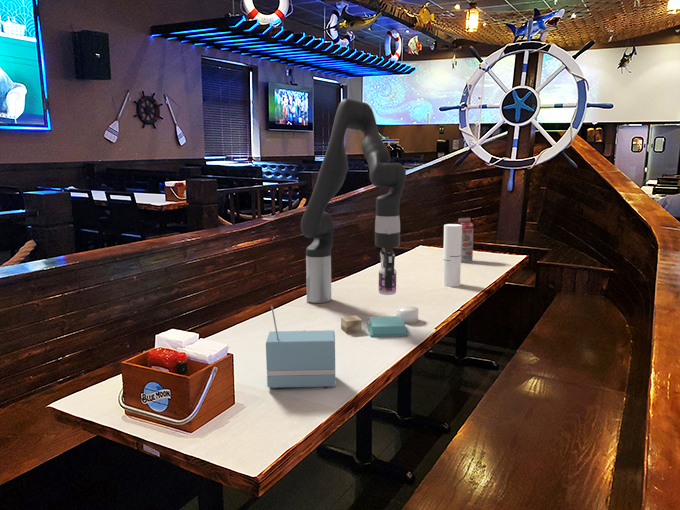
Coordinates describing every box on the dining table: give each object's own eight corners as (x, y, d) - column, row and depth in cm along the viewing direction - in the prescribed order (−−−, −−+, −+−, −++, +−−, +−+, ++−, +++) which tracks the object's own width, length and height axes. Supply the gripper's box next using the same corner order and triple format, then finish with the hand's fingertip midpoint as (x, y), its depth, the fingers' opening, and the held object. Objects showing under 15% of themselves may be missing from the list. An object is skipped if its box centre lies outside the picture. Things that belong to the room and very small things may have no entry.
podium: (370, 336, 160) (370, 327, 159) (367, 325, 171) (367, 316, 170) (407, 336, 160) (408, 326, 160) (402, 324, 171) (402, 315, 171)
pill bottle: (382, 296, 160) (382, 264, 159) (376, 291, 166) (376, 261, 164) (398, 294, 162) (399, 263, 160) (392, 290, 167) (392, 260, 165)
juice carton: (454, 260, 274) (455, 217, 270) (465, 259, 276) (466, 217, 272) (460, 262, 268) (461, 219, 264) (472, 261, 270) (473, 218, 266)
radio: (335, 374, 133) (334, 296, 130) (335, 390, 124) (334, 307, 121) (271, 375, 133) (268, 297, 129) (267, 391, 124) (264, 308, 120)
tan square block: (346, 334, 163) (346, 321, 163) (341, 329, 168) (340, 317, 167) (361, 332, 165) (361, 319, 164) (356, 327, 169) (356, 315, 169)
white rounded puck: (398, 324, 172) (398, 312, 172) (395, 317, 179) (395, 306, 178) (420, 323, 173) (420, 311, 172) (416, 317, 179) (416, 305, 179)
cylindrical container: (460, 287, 219) (462, 226, 214) (442, 286, 220) (443, 226, 216) (459, 283, 226) (461, 224, 221) (442, 282, 227) (444, 223, 222)
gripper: (372, 227, 167) (372, 280, 170) (377, 234, 153) (377, 291, 156) (396, 227, 167) (396, 279, 170) (403, 233, 153) (403, 291, 156)
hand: (387, 285), depth 163 cm, fingers closed on pill bottle, 5 cm apart
